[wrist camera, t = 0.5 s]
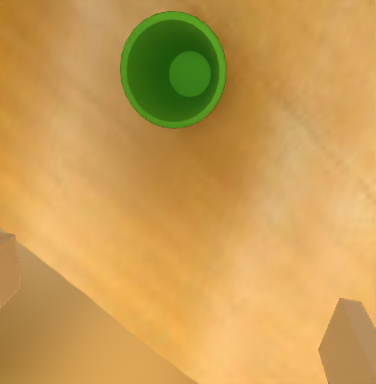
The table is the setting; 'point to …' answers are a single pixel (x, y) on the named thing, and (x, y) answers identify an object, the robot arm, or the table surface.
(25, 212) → the table surface
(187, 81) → the cup
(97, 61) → the table surface
